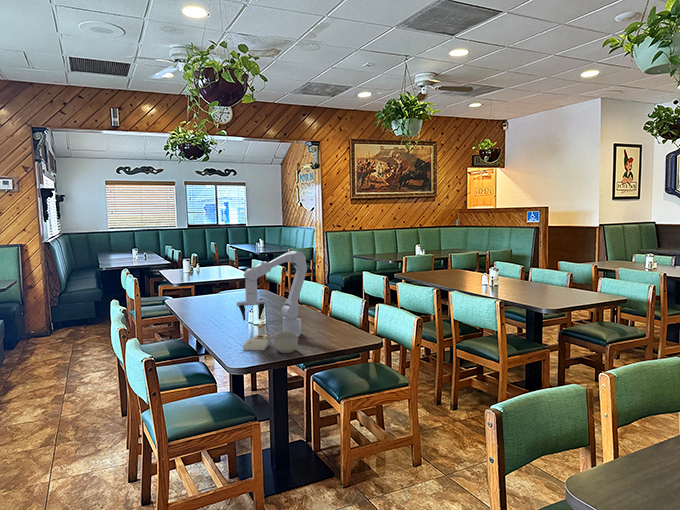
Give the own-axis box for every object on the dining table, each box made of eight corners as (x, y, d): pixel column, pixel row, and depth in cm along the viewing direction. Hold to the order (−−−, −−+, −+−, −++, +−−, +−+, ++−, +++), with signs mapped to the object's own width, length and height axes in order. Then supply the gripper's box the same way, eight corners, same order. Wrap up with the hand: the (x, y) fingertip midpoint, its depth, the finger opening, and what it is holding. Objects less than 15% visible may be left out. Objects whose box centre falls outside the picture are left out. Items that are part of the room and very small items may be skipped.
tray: (268, 344, 226) (268, 339, 226) (264, 350, 216) (264, 345, 216) (248, 344, 226) (248, 339, 226) (243, 350, 216) (242, 344, 216)
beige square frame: (267, 340, 232) (267, 335, 232) (265, 344, 226) (264, 338, 226) (255, 340, 233) (255, 334, 233) (252, 344, 227) (252, 337, 227)
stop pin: (263, 341, 231) (263, 324, 230) (262, 343, 228) (262, 325, 228) (258, 341, 231) (258, 324, 230) (257, 343, 228) (257, 325, 228)
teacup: (299, 347, 220) (298, 331, 219) (297, 354, 209) (297, 337, 209) (269, 348, 219) (269, 331, 219) (266, 355, 209) (266, 337, 208)
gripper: (264, 290, 240) (264, 316, 241) (235, 292, 234) (236, 319, 236) (267, 292, 233) (267, 319, 234) (237, 294, 228) (238, 321, 229)
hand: (251, 319), depth 234 cm, fingers open, 7 cm apart
